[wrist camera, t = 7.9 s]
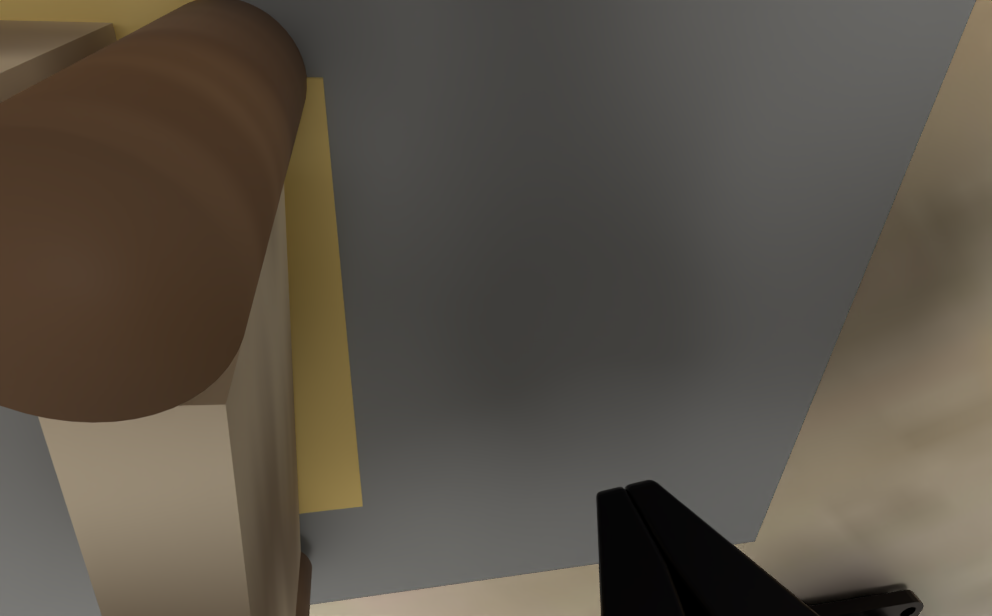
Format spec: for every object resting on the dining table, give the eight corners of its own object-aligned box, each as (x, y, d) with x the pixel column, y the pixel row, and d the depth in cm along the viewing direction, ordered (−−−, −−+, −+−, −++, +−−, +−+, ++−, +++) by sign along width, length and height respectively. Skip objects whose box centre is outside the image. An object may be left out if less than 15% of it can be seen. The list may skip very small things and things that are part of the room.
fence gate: (313, 592, 13) (292, 920, 9) (229, 600, 12) (166, 947, 8) (300, 183, 8) (245, 452, 4) (167, 175, 8) (-38, 465, 4)
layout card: (1050, -248, 8) (1085, -255, 8) (746, 528, 16) (756, 544, 15) (-1217, -545, 4) (-1375, -592, 4) (-153, 652, 12) (-170, 677, 12)
